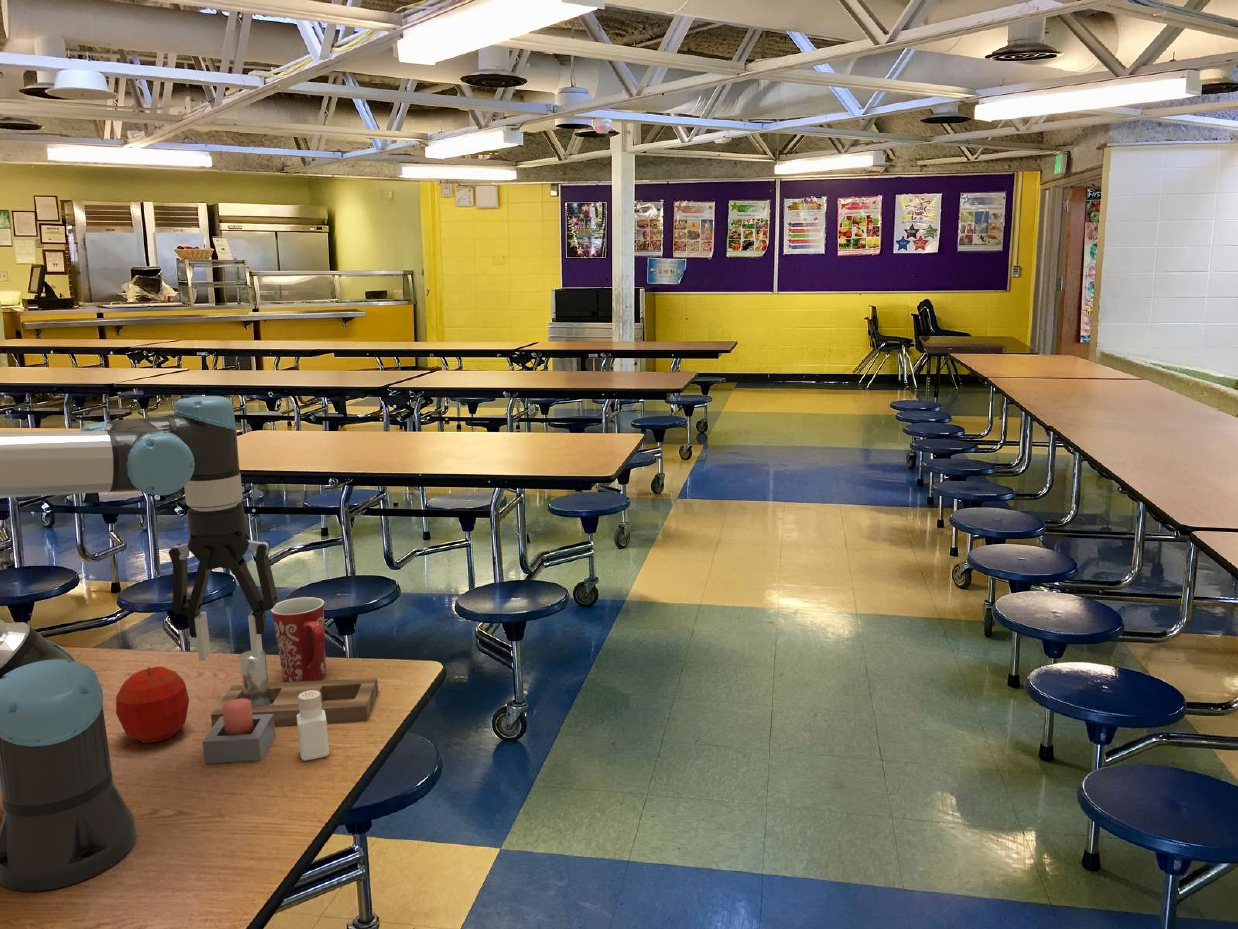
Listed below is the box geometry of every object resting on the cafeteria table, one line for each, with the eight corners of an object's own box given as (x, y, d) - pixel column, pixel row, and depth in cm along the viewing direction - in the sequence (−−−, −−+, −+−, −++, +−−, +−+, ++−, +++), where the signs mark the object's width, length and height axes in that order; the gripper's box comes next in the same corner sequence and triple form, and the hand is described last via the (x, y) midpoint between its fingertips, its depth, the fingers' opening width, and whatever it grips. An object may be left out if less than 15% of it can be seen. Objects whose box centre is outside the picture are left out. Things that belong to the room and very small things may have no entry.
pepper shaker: (301, 763, 138) (295, 702, 136) (299, 750, 142) (294, 691, 140) (329, 757, 140) (324, 697, 138) (327, 745, 143) (322, 686, 142)
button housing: (261, 760, 139) (258, 738, 139) (205, 763, 139) (202, 741, 138) (275, 734, 147) (273, 713, 146) (222, 737, 146) (220, 716, 146)
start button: (249, 741, 141) (246, 709, 140) (221, 742, 140) (218, 711, 139) (257, 728, 145) (254, 697, 144) (230, 729, 144) (227, 699, 143)
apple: (167, 715, 154) (159, 649, 152) (206, 729, 149) (198, 661, 147) (107, 742, 146) (97, 672, 144) (146, 757, 141) (137, 685, 138)
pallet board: (367, 720, 151) (365, 706, 151) (212, 729, 149) (210, 714, 149) (378, 691, 162) (377, 677, 161) (234, 699, 160) (232, 685, 159)
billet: (267, 716, 153) (261, 658, 151) (241, 718, 153) (235, 660, 151) (273, 705, 157) (268, 649, 155) (249, 707, 157) (243, 650, 155)
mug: (269, 676, 169) (262, 604, 166) (318, 662, 175) (312, 593, 172) (297, 699, 159) (289, 623, 157) (347, 684, 165) (341, 610, 162)
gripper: (292, 496, 140) (305, 642, 144) (154, 501, 138) (171, 649, 143) (279, 508, 133) (293, 662, 137) (132, 513, 131) (152, 669, 135)
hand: (231, 655), depth 140 cm, fingers open, 7 cm apart
